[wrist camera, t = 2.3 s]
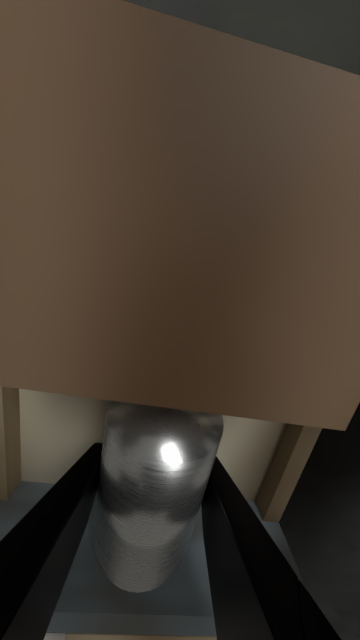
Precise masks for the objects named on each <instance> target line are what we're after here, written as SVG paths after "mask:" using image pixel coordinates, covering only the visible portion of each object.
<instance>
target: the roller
mask: <svg viewBox="0 0 360 640" xmlns="http://www.w3.org/2000/svg"><path fill="white" fill-rule="evenodd" d="M223 428H224V423H223V418H222V415H218V414H211V413H203V412H195V411H188V410H180V409H172V408H164V407H157V406H149V405H141V404H134V403H126V402H118V401H111V400H109V402H108V405H107V411H106V419H105V428H104V437H103V445H102V454H101V463H100V472H99V480H98V489H97V498H96V506H95V515H94V524H93V548H94V552H95V557H96V559H97V562H98V565H99V566H100V568H101V570H102V572H103V573H104V575H105V576H106V577H107V578H108V580H109V581H111V582H112V583H113V584H114V585H115V586H117V587H119V588H120V589H123V590H126V591H128V592H135V593H140V592H147V591H150V590H154V589H156V588H157V587H159V586H161V585H162V584H164V583H165V582H167V581H168V580H169V579H170V578H171V577H172V576H173V575H174V573H175V572H176V571H177V569H178V568H179V566H180V564H181V563H182V561H183V559H184V556H185V554H186V551H187V548H188V545H189V542H190V538H191V535H192V532H193V529H194V525H195V522H196V519H197V516H198V512H199V509H200V506H201V503H202V499H203V496H204V493H205V490H206V486H207V483H208V480H209V477H210V473H211V470H212V467H213V464H214V460H215V457H216V454H217V451H218V447H219V444H220V441H221V438H222V434H223Z"/></svg>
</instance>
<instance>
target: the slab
mask: <svg viewBox="0 0 360 640" xmlns="http://www.w3.org/2000/svg"><path fill="white" fill-rule="evenodd" d="M0 386H3V387H11V388H18V389H26V390H34V391H41V392H49V393H57V394H64V395H72V396H80V397H88V398H95V399H103V400H111V401H118V402H126V403H134V404H141V405H149V406H157V407H164V408H172V409H180V410H188V411H195V412H203V413H211V414H218V415H226V416H234V417H241V418H249V419H257V420H264V421H272V422H280V423H288V424H295V425H303V426H311V427H318V428H326V429H334V430H341V431H345V430H346V428H347V426H348V424H349V422H350V420H351V418H352V416H353V414H354V412H355V410H356V408H357V406H358V404H359V402H360V76H359V75H356V74H353V73H350V72H347V71H343V70H340V69H337V68H334V67H331V66H328V65H324V64H321V63H318V62H315V61H312V60H309V59H306V58H302V57H299V56H296V55H293V54H290V53H287V52H284V51H280V50H277V49H274V48H271V47H268V46H265V45H261V44H258V43H255V42H252V41H249V40H246V39H243V38H239V37H236V36H233V35H230V34H227V33H224V32H220V31H217V30H214V29H211V28H208V27H205V26H202V25H198V24H195V23H192V22H189V21H186V20H183V19H179V18H176V17H173V16H170V15H167V14H164V13H161V12H157V11H154V10H151V9H148V8H145V7H142V6H138V5H135V4H132V3H129V2H126V1H123V0H0Z"/></svg>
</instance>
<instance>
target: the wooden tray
mask: <svg viewBox="0 0 360 640" xmlns="http://www.w3.org/2000/svg"><path fill="white" fill-rule="evenodd" d="M108 402H109V400H103V399H95V398H88V397H80V396H72V395H64V394H57V393H49V392H41V391H34V390H26V389H18V388H11V387H3V386H0V541H1V540H2V539H3V538H4V537H5V536H6V535H7V533H8V532H9V531H10V530H11V529H12V528H13V527H14V526H15V525H16V524H17V523H18V522H19V521H20V520H21V519H22V518H23V517H24V516H25V515H26V514H27V513H28V512H29V511H30V509H31V508H32V507H33V506H34V505H35V504H36V503H37V502H38V501H39V500H40V499H41V498H42V497H43V496H44V495H45V494H46V493H47V492H48V491H49V490H50V489H51V488H52V487H53V486H54V484H55V483H56V482H57V481H58V480H59V479H60V478H61V477H62V476H63V475H64V474H65V473H66V472H67V471H68V470H69V469H70V468H71V467H72V466H73V465H74V464H75V463H76V462H77V460H78V459H79V458H80V457H81V456H82V455H83V454H84V453H85V452H86V451H87V450H88V449H89V448H90V447H91V446H92V445H93V444H94V443H96V442H99V443H103V437H104V428H105V419H106V411H107V405H108ZM222 418H223V423H224V428H223V434H222V438H221V441H220V444H219V447H218V451H217V454H216V456H217V457H218V459H219V460H220V462H221V463H222V465H223V466H224V468H225V469H226V471H227V472H228V474H229V475H230V477H231V478H232V480H233V481H234V483H235V484H236V486H237V487H238V489H239V490H240V492H241V493H242V495H243V496H244V498H245V499H246V501H247V502H248V503H249V505H250V506H251V508H252V509H253V511H254V512H255V514H256V515H257V517H258V518H259V520H260V521H261V523H262V524H263V526H264V527H265V529H266V530H267V532H268V533H269V535H270V536H271V538H272V539H273V541H274V542H275V544H276V545H277V547H278V548H279V550H280V551H281V553H282V554H283V556H284V557H285V558H286V560H287V561H288V563H289V564H290V566H291V567H292V569H293V570H294V572H295V573H296V575H297V577H298V580H300V581H301V582H302V584H303V585H304V587H305V588H306V586H305V584H304V582H303V579H302V577H301V575H300V572H299V570H298V567H297V565H296V563H295V560H294V558H293V555H292V553H291V551H290V548H289V546H288V543H287V541H286V539H285V536H284V534H283V531H282V529H281V527H280V524H279V521H280V519H281V516H282V514H283V512H284V510H285V508H286V506H287V503H288V501H289V499H290V497H291V495H292V493H293V490H294V488H295V486H296V484H297V482H298V480H299V478H300V475H301V473H302V471H303V469H304V467H305V465H306V462H307V460H308V458H309V456H310V454H311V452H312V450H313V447H314V445H315V443H316V441H317V439H318V437H319V434H320V432H321V430H322V428H318V427H311V426H303V425H295V424H288V423H280V422H272V421H264V420H257V419H249V418H241V417H234V416H226V415H222ZM96 498H97V492H96V496H95V499H94V503H93V506H92V510H91V513H90V516H89V520H88V523H87V526H86V529H85V531H84V534H83V537H82V539H81V542H80V545H79V547H78V550H77V553H76V555H75V558H74V560H73V563H72V566H71V568H70V571H69V574H68V576H67V579H66V581H65V584H64V587H63V589H62V592H61V595H60V597H59V600H58V602H57V605H56V608H55V610H54V613H53V616H52V618H51V621H50V624H49V626H48V629H47V631H46V633H66V640H217V636H216V629H215V622H214V614H213V607H212V599H211V592H210V584H209V577H208V569H207V562H206V554H205V547H204V539H203V529H202V511H201V506H200V509H199V512H198V516H197V519H196V522H195V525H194V529H193V532H192V535H191V538H190V542H189V545H188V548H187V551H186V554H185V556H184V559H183V561H182V563H181V564H180V566H179V568H178V569H177V571H176V572H175V573H174V575H173V576H172V577H171V578H170V579H169V580H168V581H167V582H165V583H164V584H162V585H161V586H159V587H157V588H156V589H154V590H150V591H147V592H140V593H135V592H128V591H126V590H123V589H120V588H119V587H117V586H115V585H114V584H113V583H112V582H111V581H109V580H108V578H107V577H106V576H105V575H104V573H103V572H102V570H101V568H100V566H99V565H98V562H97V559H96V557H95V552H94V548H93V524H94V515H95V506H96ZM306 590H307V589H306Z"/></svg>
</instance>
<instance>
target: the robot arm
mask: <svg viewBox="0 0 360 640" xmlns="http://www.w3.org/2000/svg"><path fill="white" fill-rule="evenodd" d="M102 445H103V443H99V442H96V443H94V444H93V445H92V446H91V447H90V448H89V449H88V450H87V451H86V452H85V453H84V454H83V455H82V456H81V457H80V458H79V459H78V460H77V462H76V463H75V464H74V465H73V466H72V467H71V468H70V469H69V470H68V471H67V472H66V473H65V474H64V475H63V476H62V477H61V478H60V479H59V480H58V481H57V482H56V483H55V484H54V486H53V487H52V488H51V489H50V490H49V491H48V492H47V493H46V494H45V495H44V496H43V497H42V498H41V499H40V500H39V501H38V502H37V503H36V504H35V505H34V506H33V507H32V508H31V509H30V511H29V512H28V513H27V514H26V515H25V516H24V517H23V518H22V519H21V520H20V521H19V522H18V523H17V524H16V525H15V526H14V527H13V528H12V529H11V530H10V531H9V532H8V533H7V535H6V536H5V537H4V538H3V539H2V540H1V541H0V640H43V639H44V637H45V634H46V631H47V629H48V626H49V624H50V621H51V618H52V616H53V613H54V610H55V608H56V605H57V602H58V600H59V597H60V595H61V592H62V589H63V587H64V584H65V581H66V579H67V576H68V574H69V571H70V568H71V566H72V563H73V560H74V558H75V555H76V553H77V550H78V547H79V545H80V542H81V539H82V537H83V534H84V531H85V529H86V526H87V523H88V520H89V516H90V513H91V510H92V506H93V503H94V499H95V496H96V492H97V489H98V480H99V472H100V463H101V454H102ZM201 511H202V529H203V539H204V547H205V554H206V562H207V569H208V577H209V584H210V592H211V599H212V607H213V614H214V622H215V629H216V636H217V640H341V639H340V637H339V636H338V634H337V633H336V632H335V630H334V629H333V627H332V626H331V624H330V623H329V622H328V620H327V619H326V617H325V616H324V614H323V613H322V611H321V610H320V609H319V607H318V606H317V604H316V603H315V601H314V600H313V598H312V597H311V595H310V594H309V592H308V591H307V590H306V588H305V587H304V585H303V584H302V582H301V581H300V580H298V577H297V575H296V573H295V572H294V570H293V569H292V567H291V566H290V564H289V563H288V561H287V560H286V558H285V557H284V556H283V554H282V553H281V551H280V550H279V548H278V547H277V545H276V544H275V542H274V541H273V539H272V538H271V536H270V535H269V533H268V532H267V530H266V529H265V527H264V526H263V524H262V523H261V521H260V520H259V518H258V517H257V515H256V514H255V512H254V511H253V509H252V508H251V506H250V505H249V503H248V502H247V501H246V499H245V498H244V496H243V495H242V493H241V492H240V490H239V489H238V487H237V486H236V484H235V483H234V481H233V480H232V478H231V477H230V475H229V474H228V472H227V471H226V469H225V468H224V466H223V465H222V463H221V462H220V460H219V459H218V457H217V456H216V457H215V460H214V464H213V467H212V470H211V473H210V477H209V480H208V483H207V486H206V490H205V493H204V496H203V499H202V503H201Z"/></svg>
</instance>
